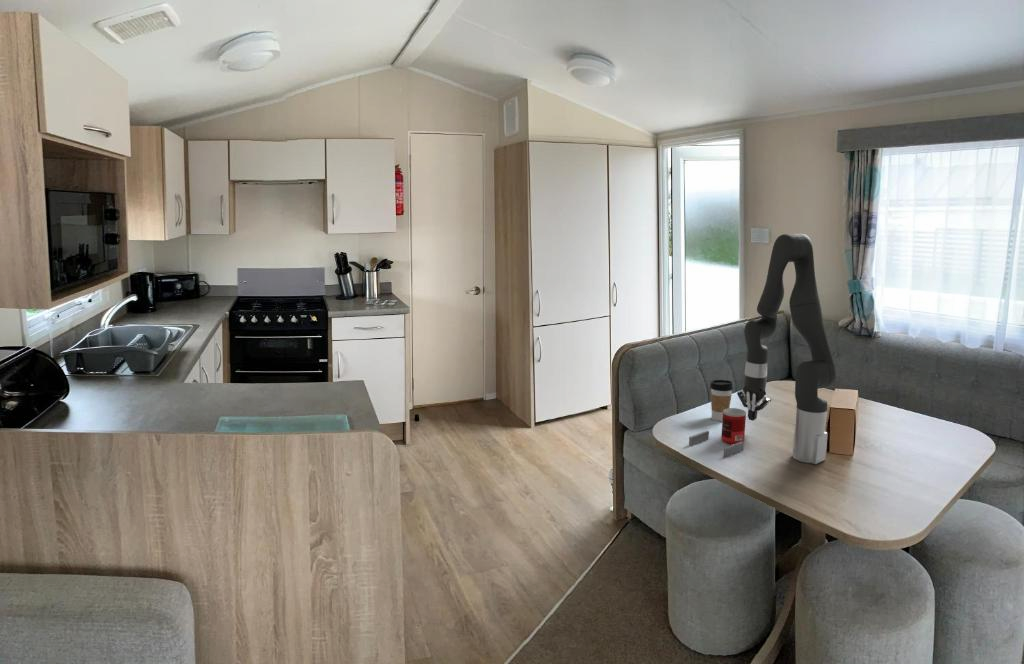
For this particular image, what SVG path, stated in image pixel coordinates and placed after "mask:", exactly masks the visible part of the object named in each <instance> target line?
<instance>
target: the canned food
mask: <svg viewBox="0 0 1024 664" xmlns="http://www.w3.org/2000/svg"><path fill="white" fill-rule="evenodd" d="M746 418H747V411H745V410H743V409H741V408H737V407H731V408H728V409H724V410H723V418H722V421H721V423H722V424H721V435H720V436H721V437H720V438H721V441H722V442H723V443H724V444H726V445H731V444H736V443H739V442H741V441H742V442H744V441H745V433H746V422H747V421H746ZM744 443H745V442H744Z"/></svg>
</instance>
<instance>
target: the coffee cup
mask: <svg viewBox="0 0 1024 664" xmlns="http://www.w3.org/2000/svg"><path fill="white" fill-rule="evenodd" d="M709 385H710V387H709V388H710V389H711V392H710V405H711V406H710V407H711V419H712V420H713V419H714V420H713V421H716V420H717V421H716V422H722V418H723V410H724V409H728V408H730V405H731V400H732V396H733V394H732V392H733V390H734V386H733V385H734V384H733V381H732V380H726V379H713V380H712V381H711V382H710V384H709Z"/></svg>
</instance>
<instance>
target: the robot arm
mask: <svg viewBox="0 0 1024 664" xmlns="http://www.w3.org/2000/svg"><path fill="white" fill-rule="evenodd" d="M814 257H815V256H814V248H813V243H812V240H811V239H810V237H809V236H808V235H807V234H805V233H785V234H784V233H783V234H780V235H779V236H777V238H776V239H775V241H774V243H773V246H772V250H771V254H770V259H769V264H768V269H767V275H766V281H765V283H764V286H763V291H762V293H761V296H760V298H759V301H758V304H757V305H756V312H757V313H758V314H759V315H760V316H761V318H759V319H751V320H749V321H747V322H746V324H745V326H744V329H743V333H744V339H745V345H746V349H747V352H746V362H745V367H744V381H743V388H742V390H739V391H737V392H736V394H737V396H738V398H739V400H740V402H741V404H742V406H743V408H747V418H748V420H749V421H751V422H752V421H756V419H757V418H758V412H759V411H762V410H763V409H765V408H766V407H767V405H768V404H770V403H771V402H772V399H771V398H769V397H768V396H767V392H766V387H767V380H768V379H767V378H768V361H769V360H768V358H769V348H768V346H766V345H764V344H761V340H763V339H768V338H772V336H774V333H775V332H776V328H777V321H778V313H779V310H780V307H781V305H782V303H783V299H784V296H785V288H784V287H785V286H784V279H783V278H784V271H785V269H786V267H787V266H788V264H789V263H793V267H794V271H795V282H794V286H793V288H792V291H791V293H790V297H789V311H790V317H791V321H792V323H793V326H794V327H795V329H796V330H797V332H798V334H800V335H801V337H802V338H803V339H804V340H805V342H806V344H807V345H808V348H809V351H810V355H811V360H805V361H802V362H800V363H799V364H798V365H797V367H796V371H795V377H794V378H795V379H794V380H795V381H794V383H795V384H794V385H795V386H794V396H795V402H796V409H795V421H794V430H793V431H794V432H793V445H792V458H793V459H794V460H795V461H798V462H801V463H806V464H814V465H818V464H819V463H821V462H824V461H825V460H826V455H827V445H828V444H827V443H828V435H829V433H828V431H826V426H827V425H826V424H827V414H828V413H827V412H828V402H827V400H826V399H824V398H821V397H819V394H818V390H819V389H825V388H830V387H832V386H833V385H834V384H835V382H836V378H837V371H836V367H835V362H834V359H833V357H832V351H831V349H830V346H829V341H828V339H827V338H828V337H827V334H826V330H825V329H826V328H825V324H824V319H823V313H822V306H821V302H820V301H821V300H820V297H819V291H818V285H817V284H818V283H817V279H816V272H815V260H814ZM761 401H762V402H761Z"/></svg>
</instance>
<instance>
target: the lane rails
mask: <svg viewBox="0 0 1024 664" xmlns="http://www.w3.org/2000/svg"><path fill="white" fill-rule="evenodd" d="M709 435H710V431H709V430H705V431H702V432H699V433H696V434H693V435H690V436H689V438H688V446H690V447H693V446H695V445H697V444H700V443H703V442H705V441H707V440H709V438H710V436H709ZM702 441H703V442H702ZM744 445H745V442H742V441H741V442H739V443H736V444H734V445H731V444H730V445H729V446H726V447H724V449H723V458H725V459H727V458H729V457H732V456H734V455H736V454H738V452H739V453H741V452H743V451H744ZM731 455H732V456H731Z"/></svg>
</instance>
